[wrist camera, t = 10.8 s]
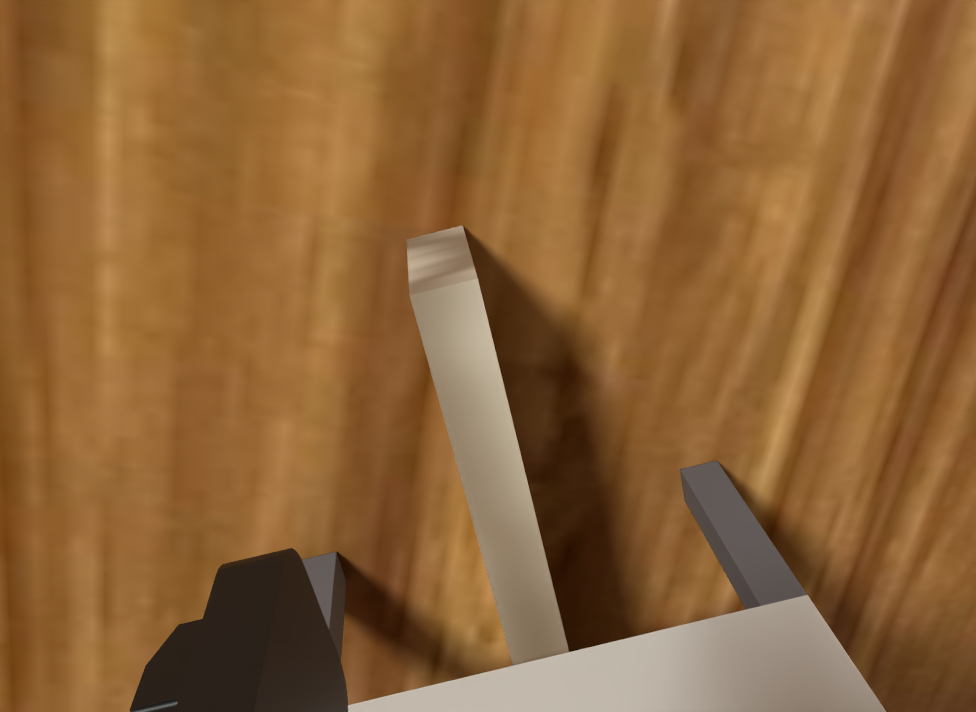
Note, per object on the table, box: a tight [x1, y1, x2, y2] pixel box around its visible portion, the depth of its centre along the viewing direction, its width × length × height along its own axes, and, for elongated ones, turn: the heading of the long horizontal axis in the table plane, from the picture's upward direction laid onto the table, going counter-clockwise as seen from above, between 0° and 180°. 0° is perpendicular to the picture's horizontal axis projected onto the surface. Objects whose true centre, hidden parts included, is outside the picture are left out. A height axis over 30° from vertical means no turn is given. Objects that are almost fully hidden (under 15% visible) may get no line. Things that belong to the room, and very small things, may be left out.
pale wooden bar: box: [407, 226, 569, 666], centre depth 33 cm, size 7×24×6 cm, turn 13°
